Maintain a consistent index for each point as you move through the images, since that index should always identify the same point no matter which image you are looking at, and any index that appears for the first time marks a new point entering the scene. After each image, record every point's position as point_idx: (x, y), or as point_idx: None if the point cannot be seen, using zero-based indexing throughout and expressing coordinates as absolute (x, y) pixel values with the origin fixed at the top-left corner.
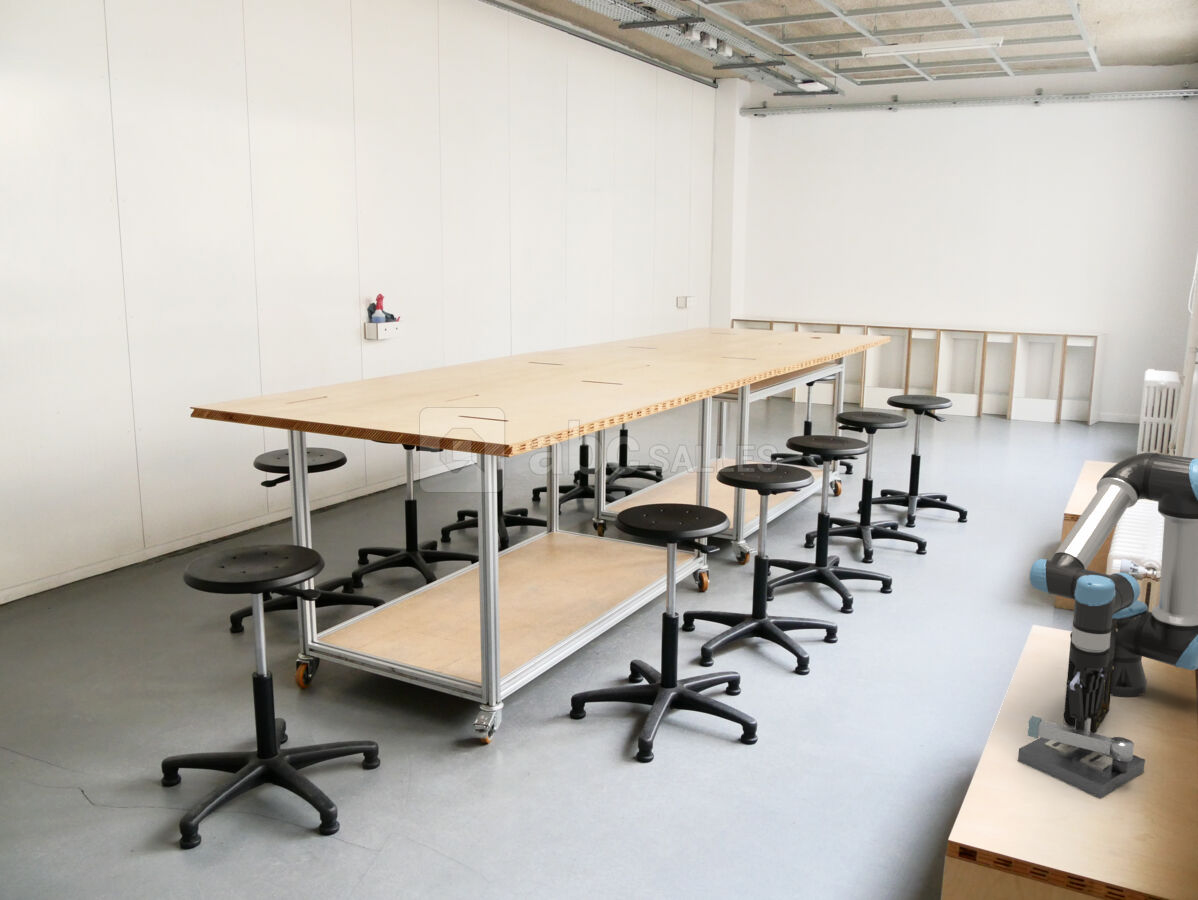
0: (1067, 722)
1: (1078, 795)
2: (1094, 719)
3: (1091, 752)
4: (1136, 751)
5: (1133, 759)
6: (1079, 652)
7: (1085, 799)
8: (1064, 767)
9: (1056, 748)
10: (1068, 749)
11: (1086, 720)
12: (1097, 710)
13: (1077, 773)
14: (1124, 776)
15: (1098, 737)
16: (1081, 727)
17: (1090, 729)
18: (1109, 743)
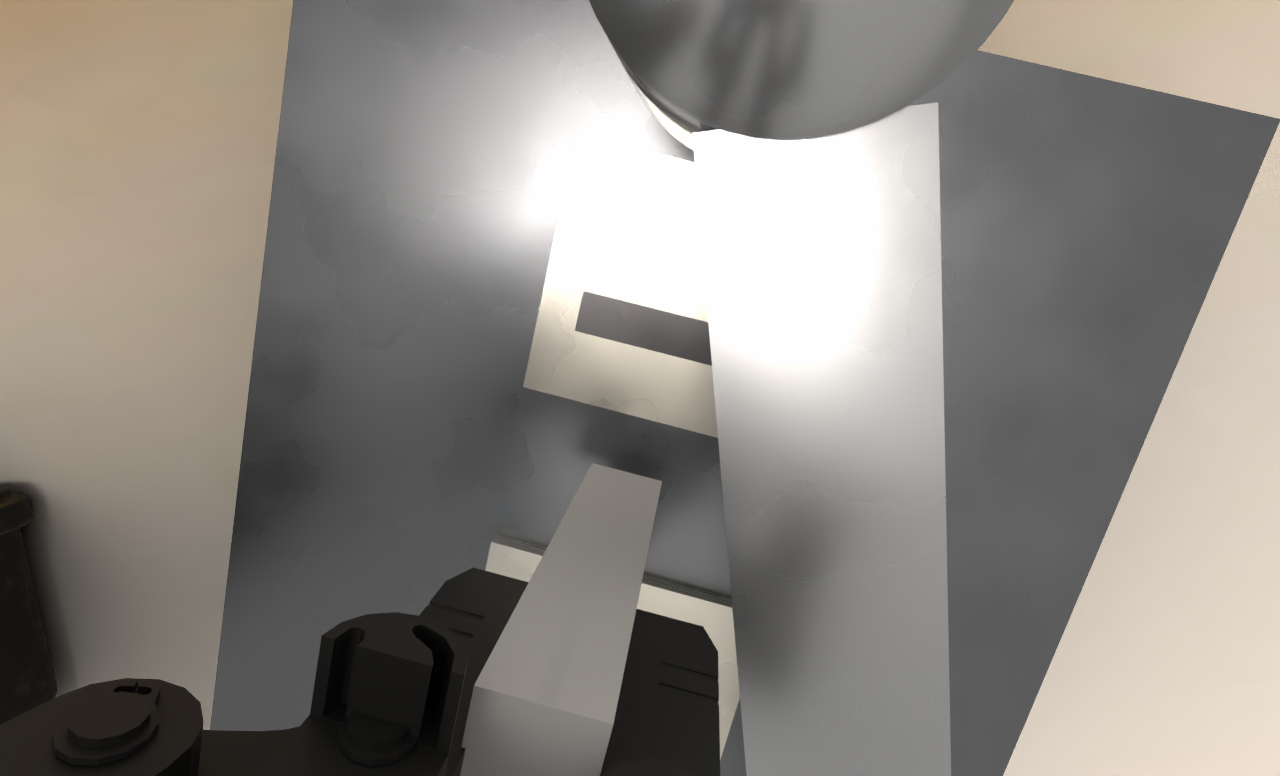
0: (44, 699)
1: (1225, 322)
2: None
3: (546, 411)
4: (58, 125)
5: (395, 6)
6: None
7: (1270, 251)
8: (1065, 550)
9: (727, 702)
10: (669, 607)
11: (606, 747)
12: (94, 703)
13: (1130, 412)
14: None
15: (858, 365)
16: (714, 709)
17: (15, 528)
18: (924, 134)
